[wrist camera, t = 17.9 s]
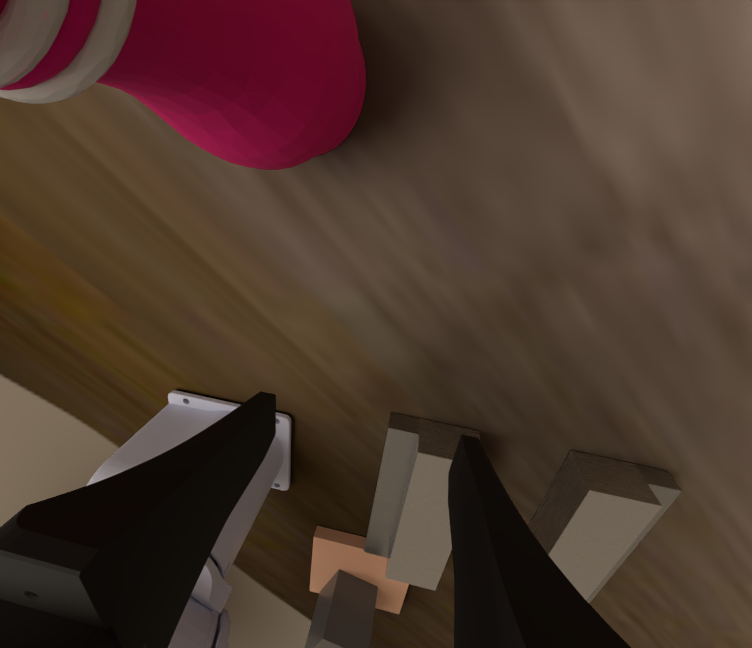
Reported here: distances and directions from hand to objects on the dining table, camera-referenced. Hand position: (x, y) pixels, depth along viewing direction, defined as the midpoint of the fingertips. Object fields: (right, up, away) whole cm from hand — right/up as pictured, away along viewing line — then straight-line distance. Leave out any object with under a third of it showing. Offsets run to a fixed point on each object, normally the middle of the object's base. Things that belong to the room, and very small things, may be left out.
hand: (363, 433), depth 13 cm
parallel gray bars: (+9, -10, +12) cm, 18 cm away
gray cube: (-2, -21, +19) cm, 28 cm away
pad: (-1, -19, +19) cm, 26 cm away
